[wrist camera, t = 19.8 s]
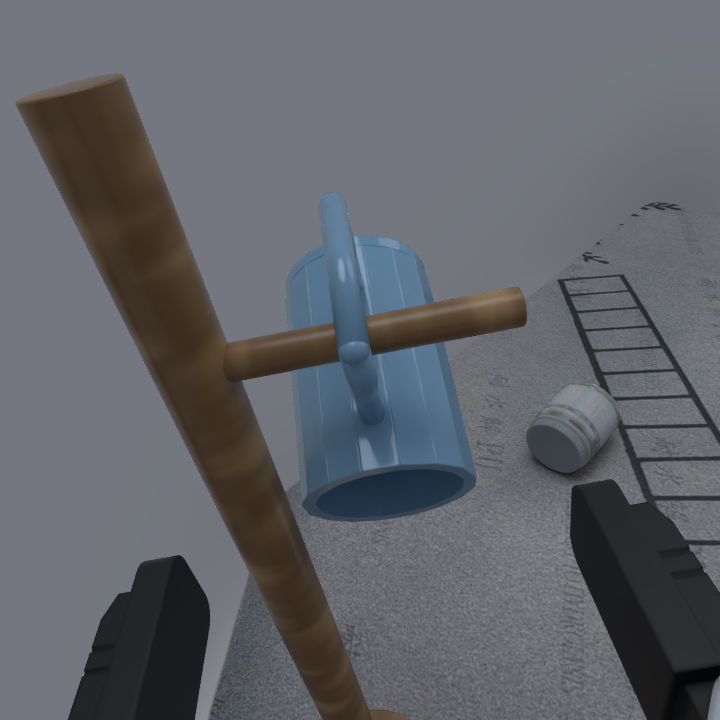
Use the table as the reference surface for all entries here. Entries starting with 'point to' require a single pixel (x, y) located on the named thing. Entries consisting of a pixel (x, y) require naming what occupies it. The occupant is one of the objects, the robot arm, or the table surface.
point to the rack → (220, 355)
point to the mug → (371, 385)
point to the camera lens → (573, 426)
